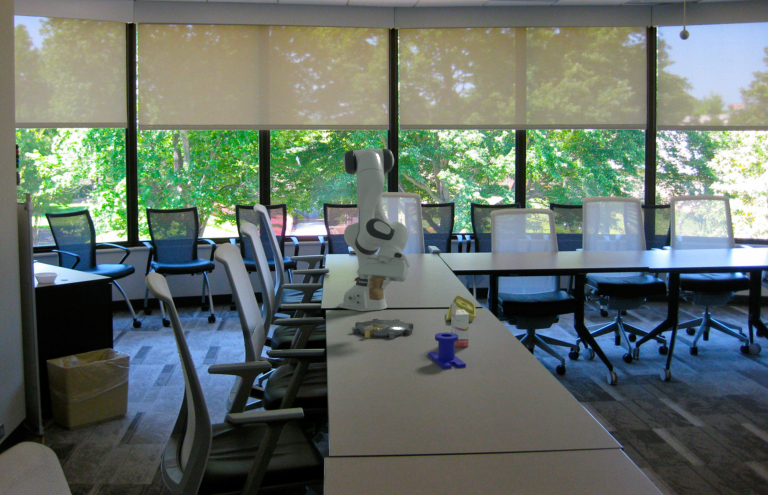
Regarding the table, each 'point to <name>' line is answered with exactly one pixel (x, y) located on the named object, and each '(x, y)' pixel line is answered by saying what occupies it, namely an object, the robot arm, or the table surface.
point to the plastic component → (462, 307)
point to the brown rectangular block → (375, 288)
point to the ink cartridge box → (460, 325)
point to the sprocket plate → (382, 328)
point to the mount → (446, 351)
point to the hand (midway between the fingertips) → (375, 287)
